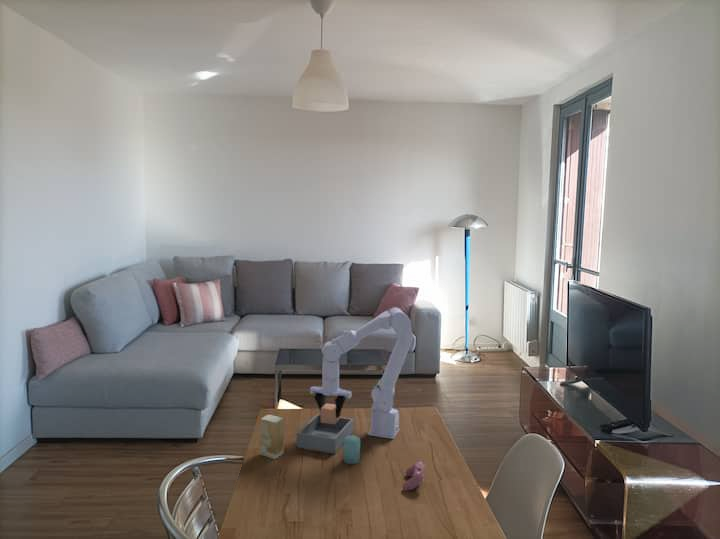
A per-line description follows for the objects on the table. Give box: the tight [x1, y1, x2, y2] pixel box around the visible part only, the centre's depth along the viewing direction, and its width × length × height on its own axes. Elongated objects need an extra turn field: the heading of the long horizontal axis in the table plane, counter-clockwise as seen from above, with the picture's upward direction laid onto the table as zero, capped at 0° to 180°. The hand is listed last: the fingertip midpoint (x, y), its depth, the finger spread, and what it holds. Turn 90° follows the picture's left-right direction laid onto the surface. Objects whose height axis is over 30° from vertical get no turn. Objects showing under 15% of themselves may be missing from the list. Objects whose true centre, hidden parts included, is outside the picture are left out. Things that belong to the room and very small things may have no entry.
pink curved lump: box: [402, 461, 426, 491], centre depth 159 cm, size 10×5×7 cm, turn 169°
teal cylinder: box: [343, 434, 361, 465], centre depth 172 cm, size 5×5×7 cm
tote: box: [296, 413, 355, 455], centre depth 187 cm, size 14×18×5 cm
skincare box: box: [260, 414, 285, 460], centre depth 175 cm, size 6×4×12 cm
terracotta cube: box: [320, 402, 340, 424], centre depth 190 cm, size 5×5×5 cm
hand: (330, 415), depth 190 cm, fingers closed on terracotta cube, 5 cm apart
